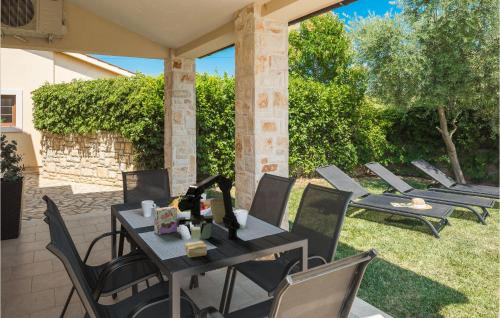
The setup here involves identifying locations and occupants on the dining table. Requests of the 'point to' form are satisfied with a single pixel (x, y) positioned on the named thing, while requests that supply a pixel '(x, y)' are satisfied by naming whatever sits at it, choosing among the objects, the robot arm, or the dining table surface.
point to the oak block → (195, 249)
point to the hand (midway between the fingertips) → (195, 235)
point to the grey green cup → (205, 231)
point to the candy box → (165, 220)
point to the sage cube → (195, 232)
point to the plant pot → (217, 209)
